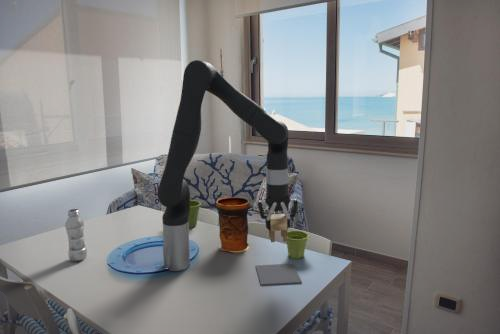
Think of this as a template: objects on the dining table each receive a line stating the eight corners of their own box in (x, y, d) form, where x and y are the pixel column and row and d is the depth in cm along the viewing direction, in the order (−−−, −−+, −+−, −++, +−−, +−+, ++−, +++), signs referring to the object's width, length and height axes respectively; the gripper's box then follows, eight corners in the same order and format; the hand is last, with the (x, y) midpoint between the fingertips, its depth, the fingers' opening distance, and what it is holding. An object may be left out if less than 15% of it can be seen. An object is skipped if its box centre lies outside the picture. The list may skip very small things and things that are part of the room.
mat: (260, 285, 126) (260, 284, 125) (255, 266, 139) (255, 265, 139) (301, 283, 127) (301, 281, 127) (292, 264, 141) (292, 263, 141)
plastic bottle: (91, 257, 148) (86, 208, 144) (76, 264, 142) (71, 214, 138) (79, 254, 150) (74, 206, 147) (64, 261, 144) (59, 211, 141)
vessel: (209, 250, 154) (209, 203, 150) (225, 238, 167) (224, 195, 164) (242, 256, 149) (242, 207, 145) (255, 243, 162) (255, 198, 158)
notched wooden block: (271, 242, 127) (270, 219, 126) (269, 236, 132) (268, 214, 131) (287, 241, 128) (287, 218, 126) (284, 235, 133) (284, 213, 131)
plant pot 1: (190, 231, 175) (189, 208, 173) (171, 226, 182) (170, 204, 179) (206, 224, 185) (205, 202, 183) (188, 220, 191) (187, 198, 189)
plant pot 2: (307, 261, 143) (307, 240, 142) (282, 259, 145) (283, 238, 144) (308, 251, 152) (309, 231, 151) (285, 249, 154) (285, 229, 153)
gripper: (257, 185, 122) (258, 234, 125) (300, 182, 123) (300, 231, 126) (254, 180, 129) (256, 226, 132) (296, 178, 131) (296, 224, 134)
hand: (277, 229), depth 129 cm, fingers closed on notched wooden block, 5 cm apart
